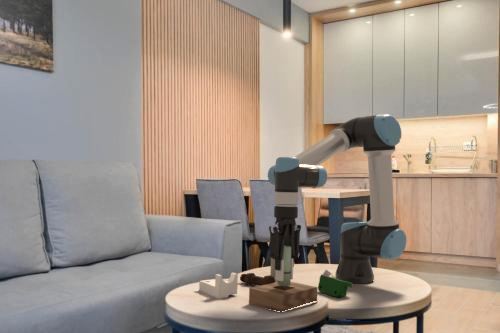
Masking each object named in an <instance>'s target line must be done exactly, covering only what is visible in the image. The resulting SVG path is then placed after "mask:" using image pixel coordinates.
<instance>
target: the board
mask: <svg viewBox="0 0 500 333" xmlns="http://www.w3.org/2000/svg"><path fill="white" fill-rule="evenodd" d="M248 288H249V291H248V292H249V293H248V294H249V295H248V297H249V298H248V304H249V305H250V306H254V307H256V308H257V307H258V308H261V307H262V309H265V308H266V309H265V310H268V309H271V310H270V311H272V310H276V311H280V312H282V311H285V310H288V309H291V308H294V307H297V306H300V305H303V304H306V303H310V302H313V301H317V302H318V286H314V285H308V284H304V283H300V282H295V281H291V280H290V286H280V285H278V281H275V283H272V284H267V285H262V286H258V285H256V286H253V287H248Z"/></svg>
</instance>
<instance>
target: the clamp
mask: <svg viewBox="0 0 500 333" xmlns="http://www.w3.org/2000/svg"><path fill="white" fill-rule="evenodd" d="M353 284H354V283H350V282H346V281H342V280H340V279H337V278H335V277H332V276H328V275H323V274H320V276H319V281H318V285H317V291H319V292H321V293H324V294H327V295H330V296H332V297H335V298H342V297H343V296H346V295H347V292H348V288H353Z"/></svg>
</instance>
